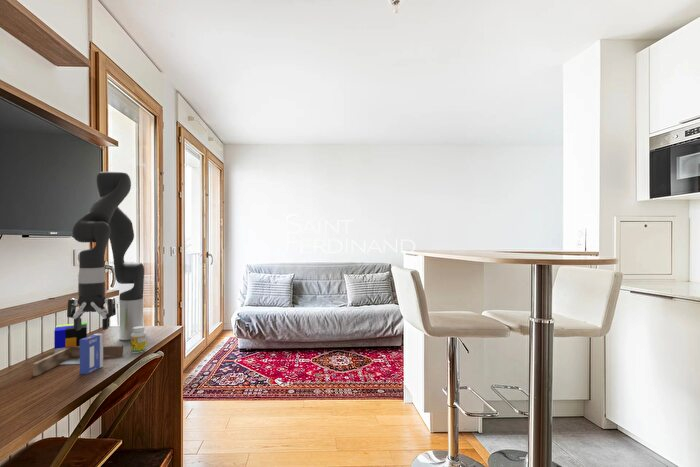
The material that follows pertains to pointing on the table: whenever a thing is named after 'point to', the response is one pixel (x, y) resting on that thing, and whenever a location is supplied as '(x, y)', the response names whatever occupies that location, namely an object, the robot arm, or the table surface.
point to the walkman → (91, 353)
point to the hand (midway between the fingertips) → (91, 329)
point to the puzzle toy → (68, 336)
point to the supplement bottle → (138, 340)
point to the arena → (66, 355)
